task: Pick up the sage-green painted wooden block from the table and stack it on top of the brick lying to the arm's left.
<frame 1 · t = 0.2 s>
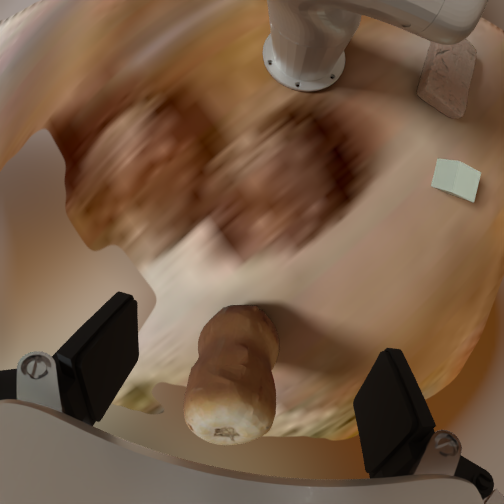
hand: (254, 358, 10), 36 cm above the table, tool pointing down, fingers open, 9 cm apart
brick: (441, 71, 34), on the table
block: (445, 177, 40), on the table
brown oblong lump: (243, 323, 52), on the table
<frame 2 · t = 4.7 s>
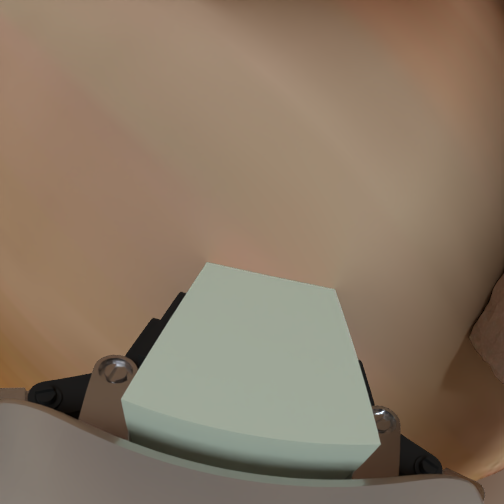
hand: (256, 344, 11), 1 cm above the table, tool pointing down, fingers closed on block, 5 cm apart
block: (258, 329, 12), on the table, touching gripper
when the fingers open (7 cm above the table, at t = 10.6 s): block drops 2 cm, resting on brick.
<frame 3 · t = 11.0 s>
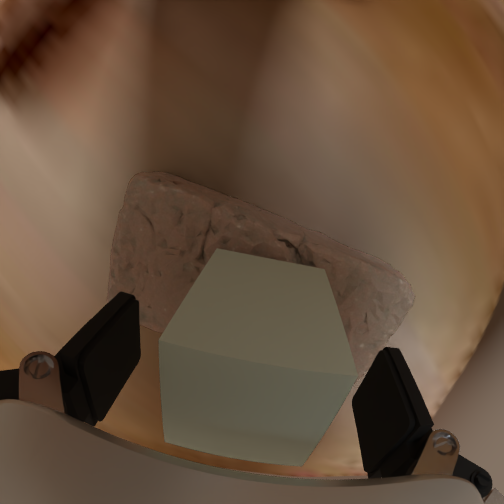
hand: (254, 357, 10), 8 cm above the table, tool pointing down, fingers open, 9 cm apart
brick: (262, 271, 19), on the table, touching block
block: (261, 306, 14), point 4 cm above the table, touching brick
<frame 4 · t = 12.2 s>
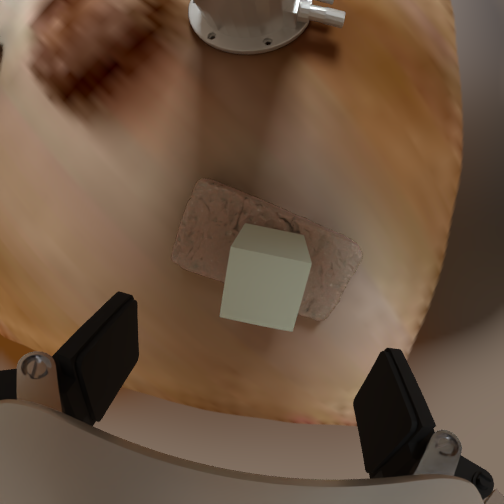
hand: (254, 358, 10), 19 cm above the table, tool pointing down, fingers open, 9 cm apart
brick: (269, 242, 29), on the table, touching block
block: (268, 256, 25), point 4 cm above the table, touching brick
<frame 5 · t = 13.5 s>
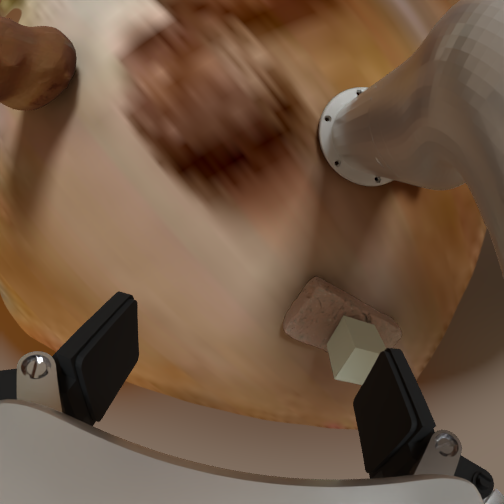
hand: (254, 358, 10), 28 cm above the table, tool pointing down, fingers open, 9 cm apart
brick: (343, 317, 41), on the table, touching block
block: (350, 335, 36), point 4 cm above the table, touching brick
brown oblong lump: (61, 73, 31), on the table
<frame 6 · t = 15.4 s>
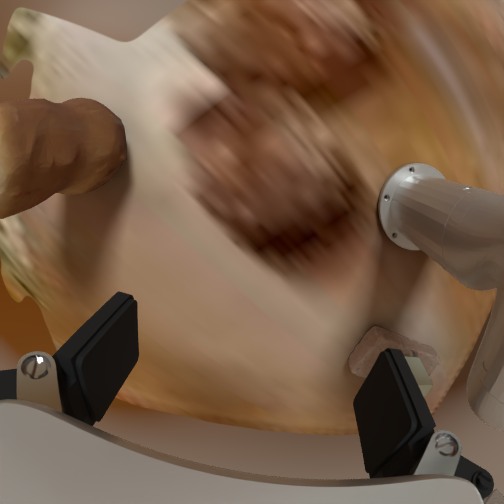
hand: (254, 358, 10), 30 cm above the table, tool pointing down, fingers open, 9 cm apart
brick: (393, 351, 45), on the table
block: (401, 367, 41), point 4 cm above the table
brown oblong lump: (105, 144, 38), on the table
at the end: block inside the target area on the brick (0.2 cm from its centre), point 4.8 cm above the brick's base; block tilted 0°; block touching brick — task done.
